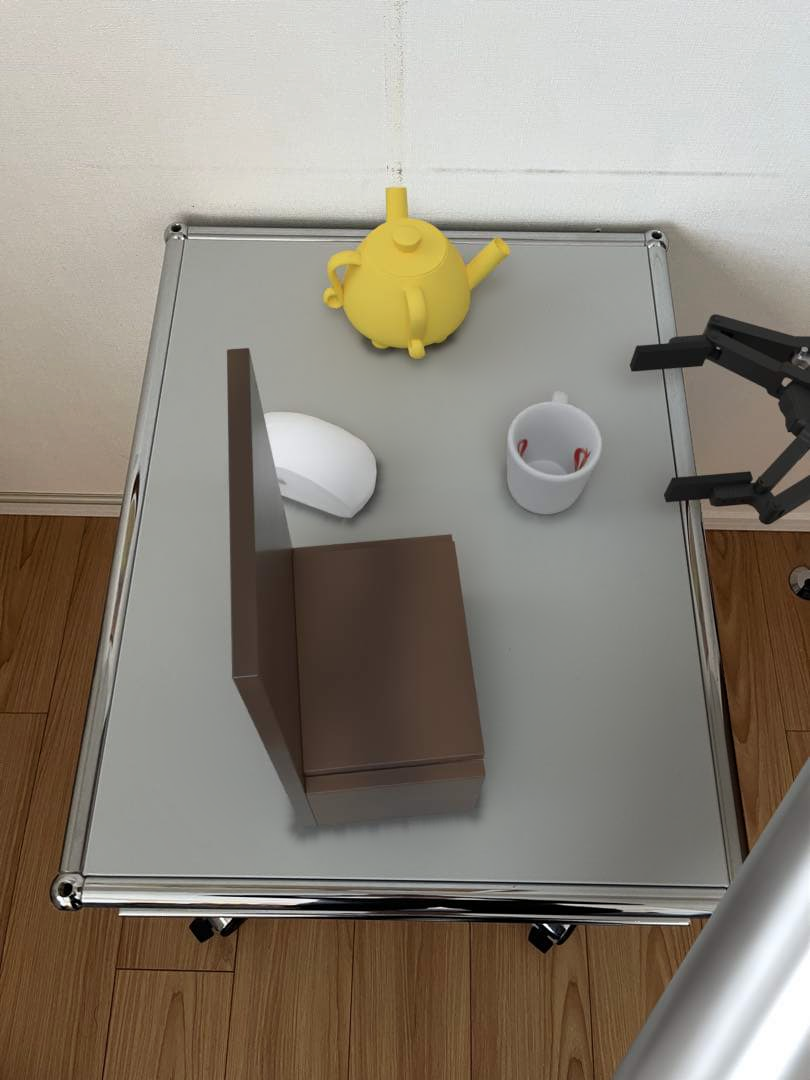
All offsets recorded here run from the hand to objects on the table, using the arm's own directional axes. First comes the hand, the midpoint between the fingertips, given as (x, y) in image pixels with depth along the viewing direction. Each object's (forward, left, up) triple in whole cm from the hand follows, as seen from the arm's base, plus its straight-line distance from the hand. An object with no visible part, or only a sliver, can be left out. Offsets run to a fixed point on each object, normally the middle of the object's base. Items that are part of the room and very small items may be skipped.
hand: (650, 422), depth 80 cm
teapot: (+27, +6, -7) cm, 28 cm away
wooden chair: (-6, +31, -7) cm, 33 cm away
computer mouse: (+16, +25, -7) cm, 31 cm away
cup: (+4, +7, -7) cm, 11 cm away
